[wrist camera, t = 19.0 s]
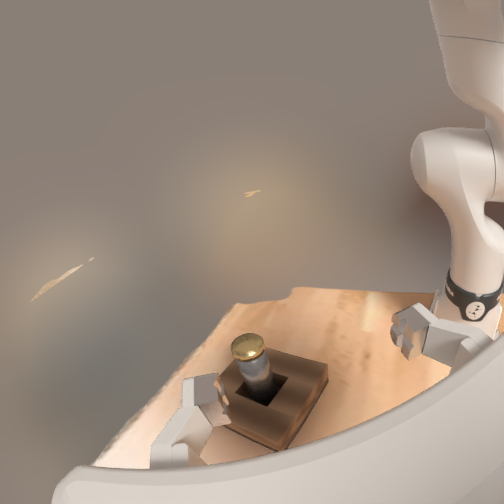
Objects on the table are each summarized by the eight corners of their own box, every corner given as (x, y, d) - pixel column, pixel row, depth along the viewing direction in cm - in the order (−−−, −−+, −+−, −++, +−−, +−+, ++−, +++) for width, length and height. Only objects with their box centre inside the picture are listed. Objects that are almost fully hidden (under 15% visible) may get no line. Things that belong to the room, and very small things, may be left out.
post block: (255, 359, 53) (249, 342, 51) (328, 381, 44) (327, 364, 42) (205, 416, 42) (195, 401, 40) (282, 454, 32) (277, 442, 30)
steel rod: (262, 385, 45) (243, 330, 40) (284, 393, 43) (269, 337, 37) (248, 403, 42) (224, 350, 36) (270, 412, 39) (250, 360, 34)
